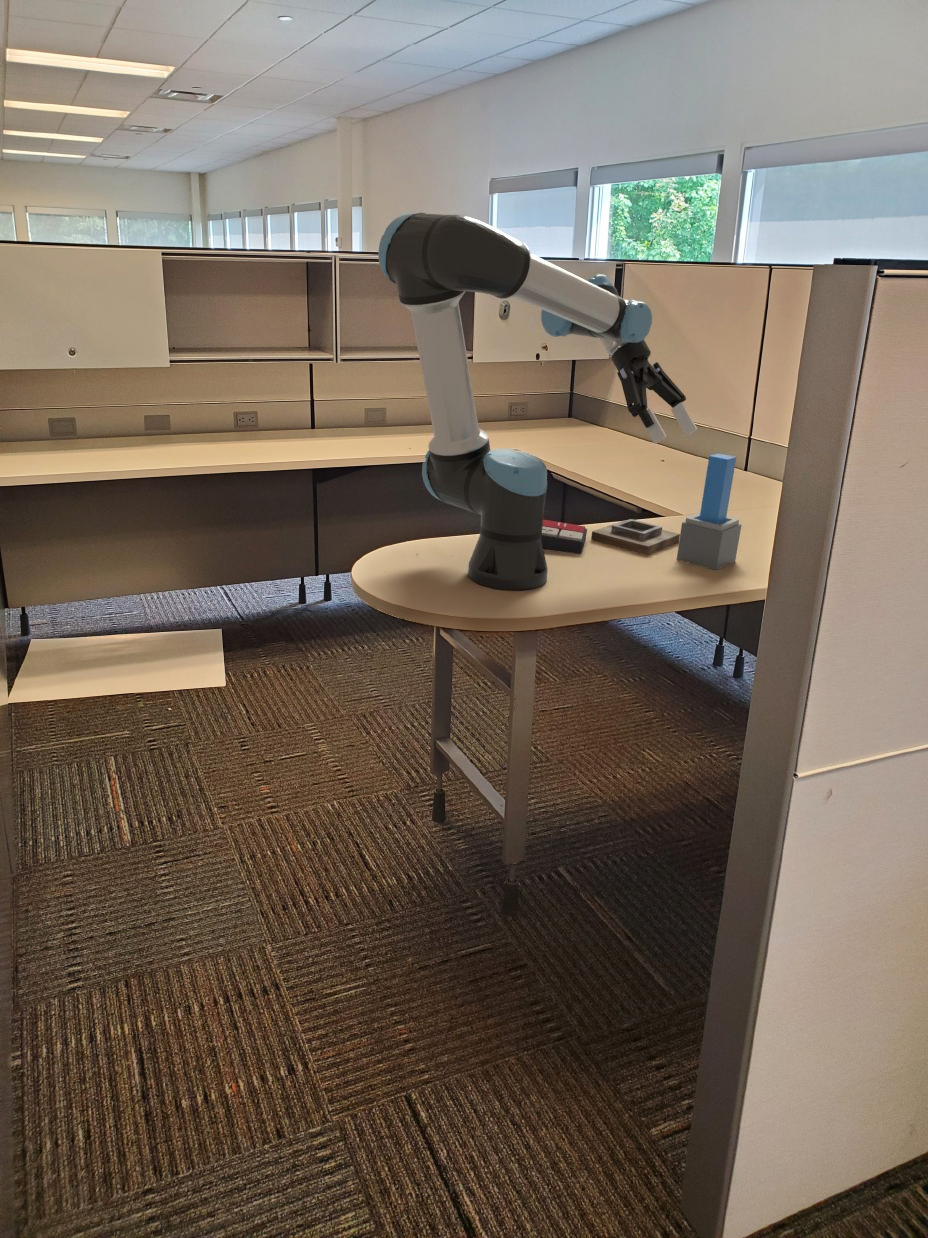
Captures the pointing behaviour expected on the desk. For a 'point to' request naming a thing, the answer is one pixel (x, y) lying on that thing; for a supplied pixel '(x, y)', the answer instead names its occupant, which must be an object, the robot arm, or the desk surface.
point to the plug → (717, 488)
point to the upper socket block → (708, 542)
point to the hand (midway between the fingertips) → (676, 436)
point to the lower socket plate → (636, 536)
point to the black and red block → (563, 537)
